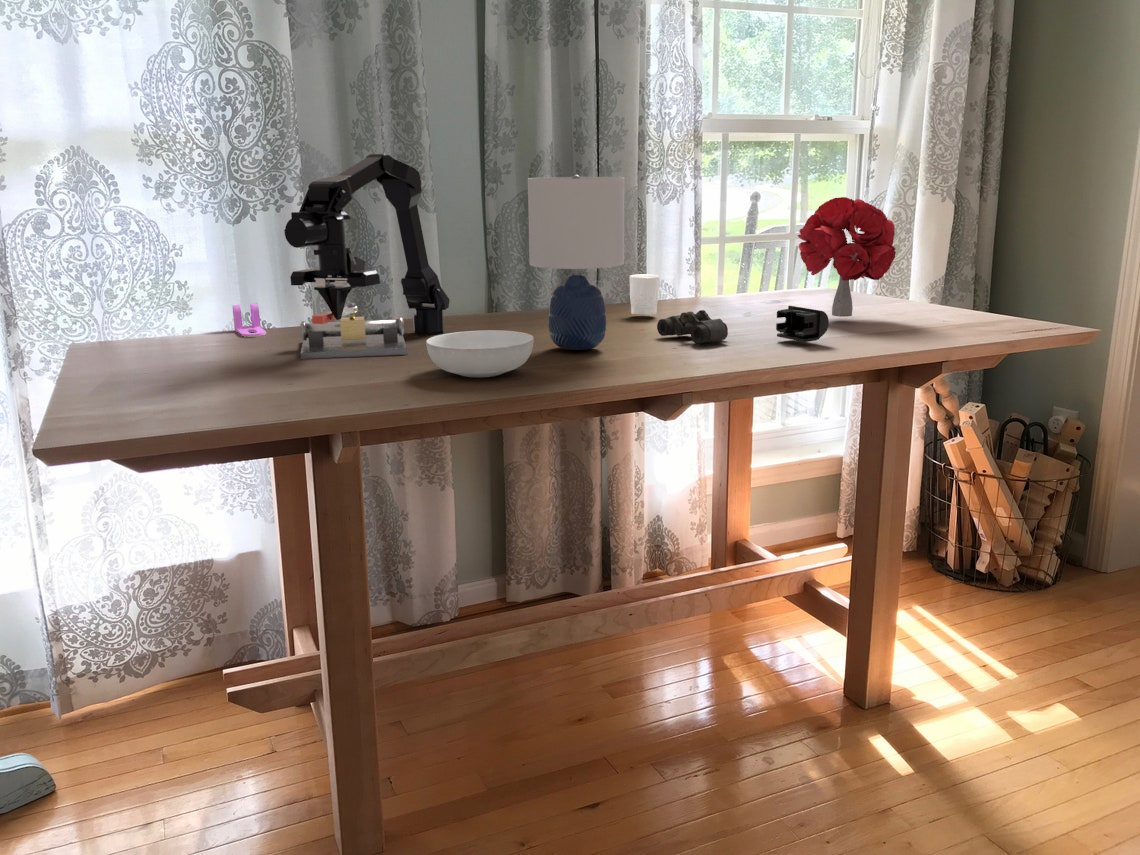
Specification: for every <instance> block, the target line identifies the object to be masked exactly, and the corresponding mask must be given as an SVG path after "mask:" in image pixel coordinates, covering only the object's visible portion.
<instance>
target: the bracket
mask: <svg viewBox="0 0 1140 855" xmlns="http://www.w3.org/2000/svg"><path fill="white" fill-rule="evenodd" d="M249 308H250V309H249V310H250V317H251V325H243V320H242V319H243V317H242V316H243V315H242V310H241V309H242V308H241V305H240V304H234V305H232V315H233V316H232V317H233V327H234V331H235V332H236V333H237V332H239V333H240V334H241V335H242V336H261V335H265V334H266V335H267V331H266V330H265V329H264V328H262V325H261V319H260V318H261V316H260V309H259V305H258V303H250V307H249ZM248 331H255V332H256V333H249V332H248ZM240 334H239V335H240ZM241 335H240V336H241ZM242 336H241V337H242Z"/></svg>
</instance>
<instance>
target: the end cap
mask: <svg viewBox="0 0 1140 855" xmlns="http://www.w3.org/2000/svg"><path fill="white" fill-rule="evenodd" d="M782 318H785V321H784V322H777V323H776V324H775V329H776V332H779V333H776V337H778V338H783V339H786V340H787V339H788V340H792V341H797V342H802V343H808V342H809V343H810V342H815V341H818V340H819V339H821V338H822V337H823V336H824V335H825V334H826V333H827V331H828V328H829V323H830V322H829V321H830V320H829V316H828V314H827V313H826V312H825V311H824V310H819V309H814V308H813V309H812V308H807V307H801V306H796V305H788V306H787V308H785V309H780V310H777V312H776V319H782Z"/></svg>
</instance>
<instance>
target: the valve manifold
mask: <svg viewBox="0 0 1140 855" xmlns="http://www.w3.org/2000/svg"><path fill="white" fill-rule="evenodd" d="M355 313H356V312H354V313H351V314H348V317H347V316H346V317H345V316H342V317H341V319H340V320H339V321H331V322H328V323H325V324H313V322H306V320H301V322H300V335H301V339H302V345H301V350H300V359H301V360H308V359H309V360H310V359H312V360H313V359H332V358H333V359H336V358H339V359H340V358H359V357H361V358H363V357H387V356H388V357H389V356H406V355H408V347H407V344H406V341H405V338H404V333H405V327H404V326H405V325H404V318H403V317H402V316H398V317H397V318H396V319H395V318H393V319H376V320H375V319H374V320H372V319H371V320H365V316H355V315H356V314H355Z"/></svg>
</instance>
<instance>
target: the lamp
mask: <svg viewBox="0 0 1140 855" xmlns="http://www.w3.org/2000/svg"><path fill="white" fill-rule="evenodd" d="M527 201H528V202H527V203H528V206H527V207H528V209H527V210H528V241H529V242H528V247H529V248H528V252H529V254H528V256H529V266H531V267H533V268H535V267H536V268H540V269H541V268H543V269H553V270H555V269H557V270H571V273H570V275H567V278H566V280H565V282H564V283H563V284H560V285H559V286H558V287H556V288H555V289H554V290H553V292H552V295H551V298H550V300H549V308H548V318H547V319H548V320H547V321H548V322H547V323H548V326H547V327H548V332H549V337H550V339H551V341H552V342H553V343H554V344H555V346H557V347H558V348H559V349H563V350H568V351H572V350H573V351H575V350H576V351H581V350H582V351H586V350H591V349H594V348H596V347H598V346H600V344H602V342H603V340H604V338H605V337H606V331H607V314H606V306H605V305H606V304H605V299H604V296H603V294H602V291H601V290H600V289H599V288H598V287H597V286H596V285H593V284H591V283H590V282H589V280H588V278H587V276H586V275H585V274H583V271H582V270H585V269H587V270H589V269H591V270H593V269H606V268H614V267H620V266H623V265H624V264H625V176H579V175H578V174H574V175H573V176H555V177H553V176H551V177H548V176H547V177H528V178H527Z"/></svg>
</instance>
